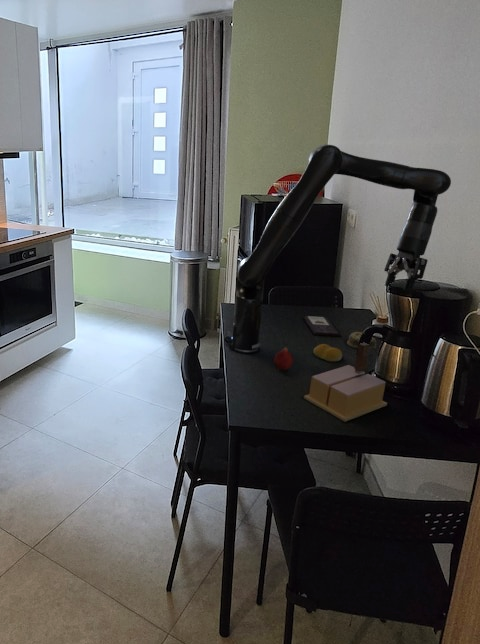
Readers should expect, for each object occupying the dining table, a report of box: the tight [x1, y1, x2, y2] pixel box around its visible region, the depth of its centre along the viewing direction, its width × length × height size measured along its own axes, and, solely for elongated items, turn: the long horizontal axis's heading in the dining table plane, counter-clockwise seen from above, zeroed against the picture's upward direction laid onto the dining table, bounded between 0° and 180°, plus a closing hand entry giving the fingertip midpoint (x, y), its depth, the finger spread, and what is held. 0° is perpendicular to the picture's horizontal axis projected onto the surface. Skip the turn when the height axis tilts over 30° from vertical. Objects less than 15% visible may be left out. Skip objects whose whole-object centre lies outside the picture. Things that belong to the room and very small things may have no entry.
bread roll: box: [313, 343, 343, 362], centre depth 168 cm, size 8×9×4 cm
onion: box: [273, 347, 294, 372], centre depth 157 cm, size 6×6×8 cm
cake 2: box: [346, 331, 378, 350], centre depth 177 cm, size 10×10×5 cm
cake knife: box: [354, 342, 370, 378], centre depth 139 cm, size 3×2×16 cm, turn 118°
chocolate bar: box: [303, 315, 340, 337], centre depth 195 cm, size 9×1×18 cm
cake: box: [303, 364, 388, 423], centre depth 138 cm, size 18×14×7 cm
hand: (397, 288), depth 148 cm, fingers open, 8 cm apart
